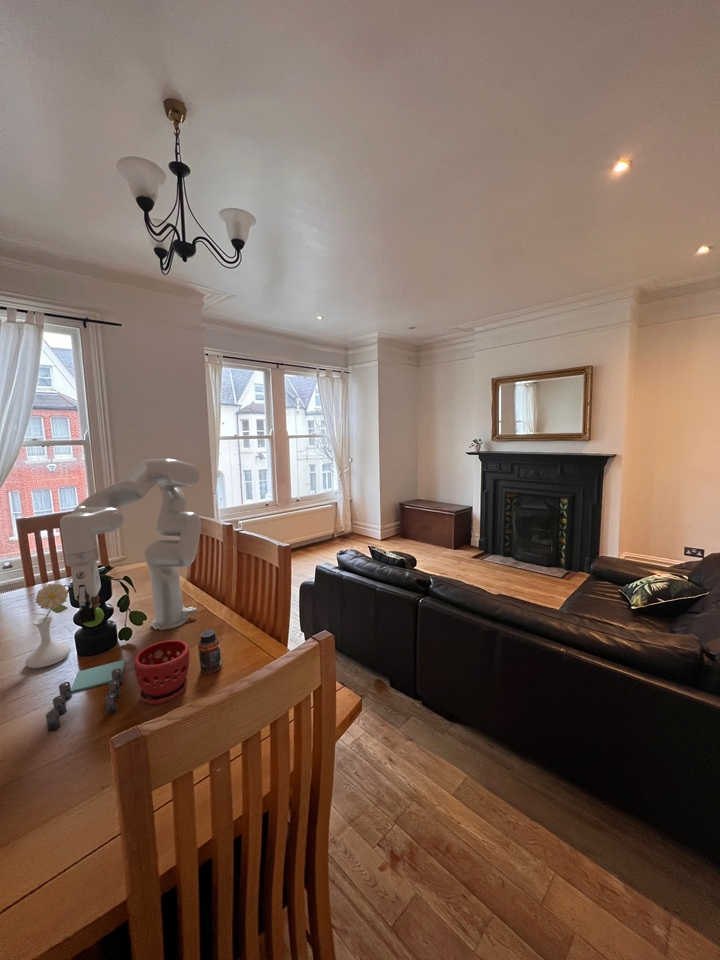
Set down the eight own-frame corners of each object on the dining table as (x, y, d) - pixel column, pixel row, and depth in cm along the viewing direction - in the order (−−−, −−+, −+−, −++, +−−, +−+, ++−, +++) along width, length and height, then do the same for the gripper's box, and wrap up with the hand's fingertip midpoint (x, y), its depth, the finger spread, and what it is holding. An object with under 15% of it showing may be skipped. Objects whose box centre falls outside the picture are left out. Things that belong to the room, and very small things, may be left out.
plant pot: (157, 716, 96) (151, 672, 95) (129, 698, 103) (123, 657, 102) (202, 685, 107) (198, 645, 106) (174, 671, 114) (170, 634, 113)
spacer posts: (123, 680, 111) (121, 667, 111) (117, 712, 98) (115, 697, 98) (62, 697, 105) (60, 683, 104) (47, 733, 92) (44, 718, 92)
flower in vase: (20, 676, 115) (7, 597, 112) (32, 657, 125) (19, 584, 122) (74, 662, 121) (62, 587, 118) (80, 645, 131) (70, 575, 128)
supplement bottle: (226, 664, 117) (222, 629, 115) (212, 676, 111) (209, 640, 110) (210, 661, 119) (206, 627, 117) (196, 673, 113) (192, 637, 111)
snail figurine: (86, 621, 114) (80, 583, 112) (109, 620, 114) (103, 581, 113) (74, 631, 109) (68, 591, 107) (98, 629, 109) (92, 589, 107)
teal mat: (124, 661, 120) (124, 659, 120) (120, 679, 112) (120, 677, 111) (78, 673, 115) (77, 671, 115) (70, 693, 106) (70, 691, 106)
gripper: (92, 562, 103) (101, 626, 105) (102, 546, 118) (110, 602, 120) (57, 568, 99) (67, 634, 102) (72, 550, 115) (81, 608, 117)
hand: (90, 616), depth 111 cm, fingers closed on snail figurine, 5 cm apart
